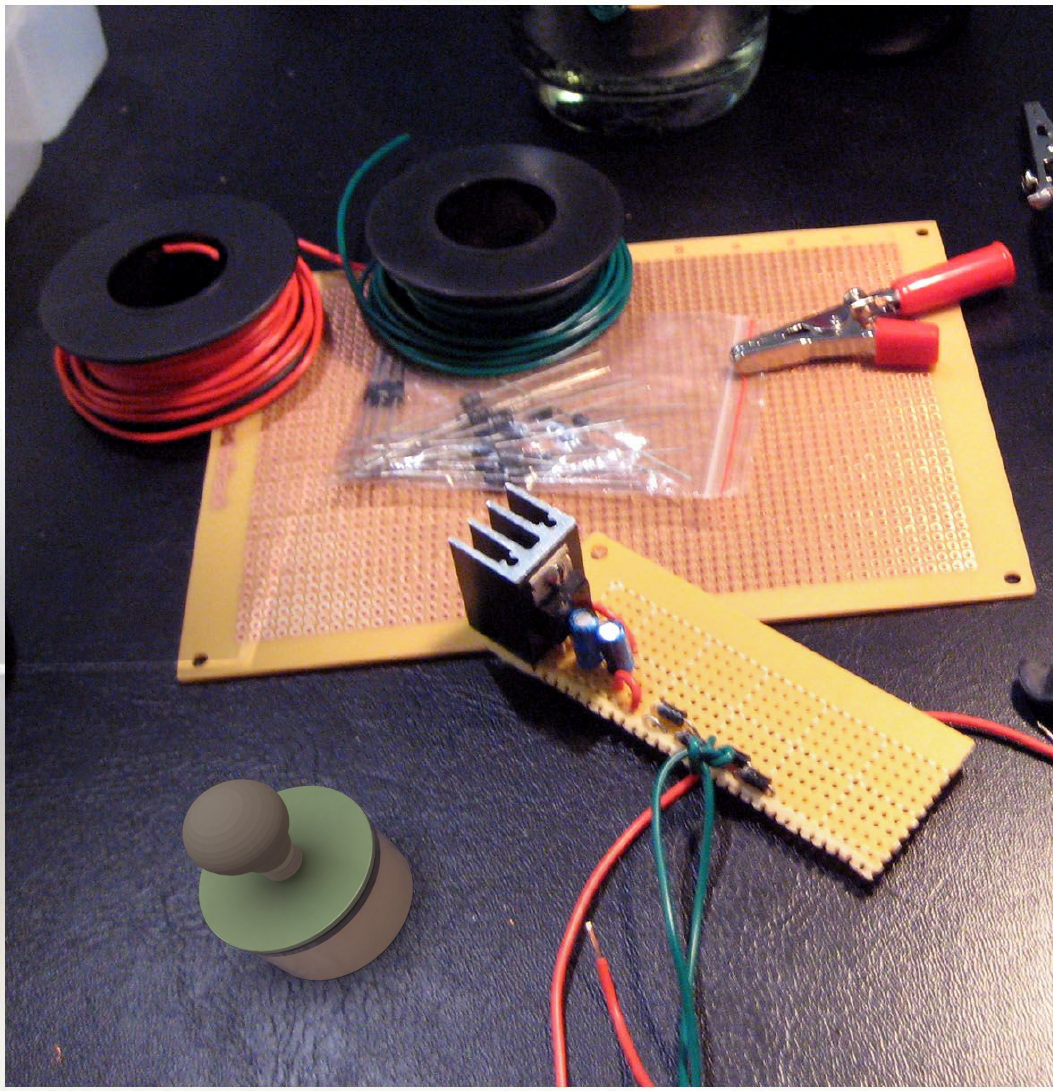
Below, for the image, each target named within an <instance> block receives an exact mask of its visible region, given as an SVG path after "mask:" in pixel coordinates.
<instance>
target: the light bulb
mask: <svg viewBox="0 0 1053 1091" xmlns="http://www.w3.org/2000/svg"><path fill="white" fill-rule="evenodd" d="M277 792H278V791H276V790H275V789H274V788H273V787H272V786H269V785H268V784H266V783H263V782H260V781H258V780H254V779H245V778H244V779H243V778H240V779H239V778H238V779H231V780H226V781H224V782H220V783H218V784H216V785H214V786H211V787H209V788H208V789H207V790H205V791H204V792H202V793H201V794H200V795H199V796H197V798H196V799H195V800H194V801H193V802H192V804H191V805H190V807H189V808H188V810H187V812H186V814H185V817H184V821H183V824H182V842H183V846H184V850H185V852H186V854H187V856H188V858H190V860H191V861H192V862H193V863H194V864H195V865H196V866H198V867H200V868H201V869H204V870H206V871H209V872H212V873H215V874H218V875H227V876H236V875H242V874H246V873H249V872H254V873H262V874H263V875H264V876H266V877H267V878H269V879H270V880H273V881H283V880H286V879H288V878H290V877H291V876H292V875H293V874H295V873H296V871H297V870H298V869H299V867H300V865H301V862H302V852H301V850H300V848H299V847H298V846H297V845H295V844H294V843H293V842H292V841H291V839H290V835H289V834H288V831H289V814H288V810H287V807H286V805H285V803H284V801H283V800H282V798H281V797H280V795H279V794H278V793H277Z"/></svg>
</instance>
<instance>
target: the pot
mask: <svg viewBox="0 0 1053 1091" xmlns="http://www.w3.org/2000/svg"><path fill="white" fill-rule="evenodd" d="M276 792H277V793H278V794H279V795H280V797H281V798H282V800H283V801H284V803H285V805H286V807H287V810H288V814H289V831H288V834H289V835H290V839H291V841H292V842H293V843H294V844H295V845H297V846H298V847H299V848H300V850H301V852H302V862H301V865H300V867H299V869H298V870H297V871H296V873H295V874H293V875H292V876H291V877H290V878H288V879H286V880H283V881H273V880H270V879H269V878H267V877H266V876H264V875H263V874H262V873H254V872H249V873H246V874H242V875H236V876H227V875H218V874H215V873H212V872H209V871H206V870H204V869H203V868H201V872H200V877H199V885H198V900H199V906H200V911H201V913H202V916H203V919H204V921H205V923H206V924H207V926H208V928H209V929H210V930H211V931H212V933H213V934H214V935H215V936H216V937H218V938H219V939H220V940H221V941H222V942H224V943H226V944H227V945H229V946H231V947H233V948H235V949H237V950H241V951H242V952H246V953H247V954H251V955H255V956H258V957H259V958H262V959H263V960H265V961H266V962H268V963H270V964H272V965H273V966H275V967H277V968H278V969H280V970H282V971H283V972H284V973H287V974H289V975H291V976H293V977H295V978H298V979H302V980H308V981H328V980H333V979H338V978H341V977H344V976H348V975H350V974H352V973H354V972H356V971H358V970H360V969H362V968H364V967H365V966H367V965H368V964H370V963H371V962H373V961H374V960H375V959H377V958H378V957H379V956H380V955H381V954H382V953H383V952H385V950H386V949H387V948H389V946H390V945H391V944H392V943H393V942H394V940H395V938H396V937H397V936H398V935H399V933H400V931H401V929H402V927H403V926H404V924H405V923H406V920H407V917H408V916H409V912H410V909H411V905H412V902H413V901H412V900H413V894H414V892H413V891H414V882H413V874H412V870H411V867H410V865H409V862H408V860H407V858H406V857H405V855H404V854H403V852H402V851H401V850H400V849H399V848H398V847H397V846H396V845H395V844H394V843H393V841H391V840H390V839H389V838H388V837H387V836H385V835H384V834H383V833H382V832H381V830H379V829H378V828H377V827H376V826H375V825H374V823H373V821H372V820H371V819H370V817H369V816H368V815H367V813H366V812H365V810H364V809H363V808H362V807H361V806H360V805H359V804H358V803H357V802H356V801H355V800H354V799H352V798H351V797H350V796H349V795H347V794H345V793H343V792H341V791H340V790H336V789H333V788H332V787H325V786H320V785H303V786H301V785H300V786H295V787H290V788H285V789H282V790H279V791H276Z"/></svg>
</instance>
